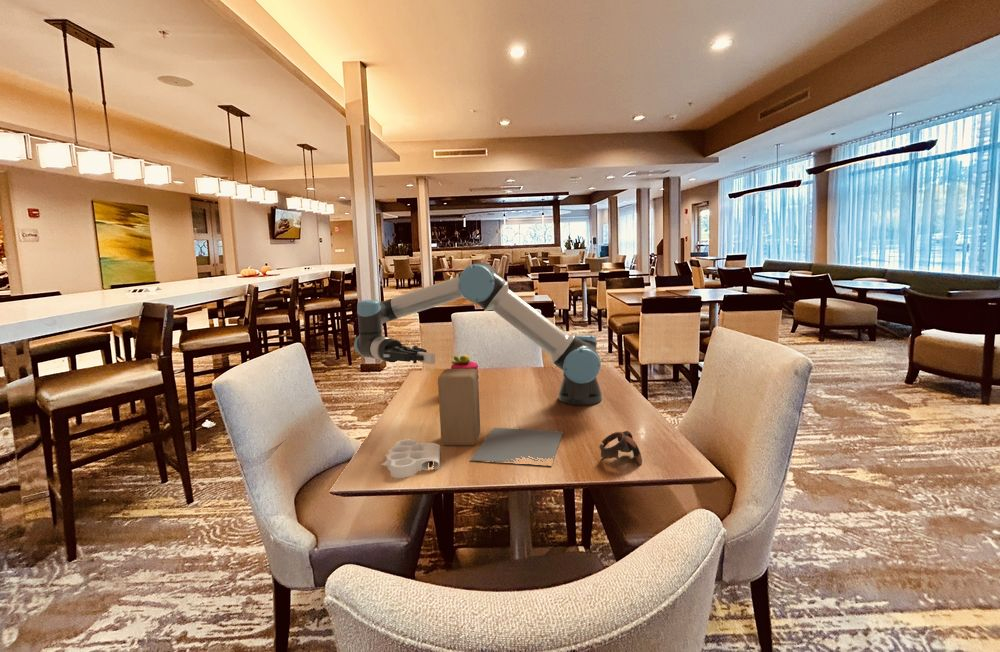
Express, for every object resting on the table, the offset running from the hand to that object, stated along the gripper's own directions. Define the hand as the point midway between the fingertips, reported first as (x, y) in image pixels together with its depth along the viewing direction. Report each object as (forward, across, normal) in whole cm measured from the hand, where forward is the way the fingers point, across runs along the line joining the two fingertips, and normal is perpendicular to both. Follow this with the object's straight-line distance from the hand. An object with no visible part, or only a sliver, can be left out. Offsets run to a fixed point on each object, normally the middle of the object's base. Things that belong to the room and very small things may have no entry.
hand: (432, 359), depth 149 cm
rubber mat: (+27, -8, -22) cm, 36 cm away
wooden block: (+11, 0, -22) cm, 25 cm away
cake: (-25, -35, -23) cm, 49 cm away
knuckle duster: (+13, +18, -23) cm, 32 cm away
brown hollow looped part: (+53, -17, -22) cm, 60 cm away
